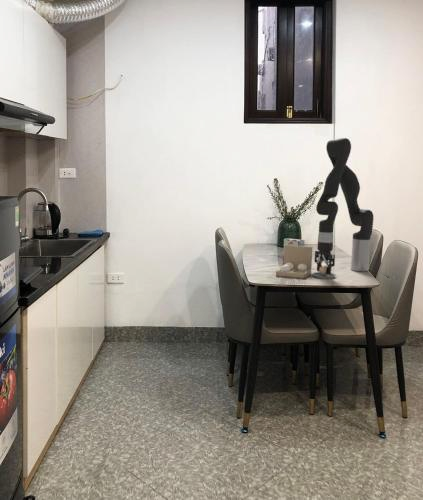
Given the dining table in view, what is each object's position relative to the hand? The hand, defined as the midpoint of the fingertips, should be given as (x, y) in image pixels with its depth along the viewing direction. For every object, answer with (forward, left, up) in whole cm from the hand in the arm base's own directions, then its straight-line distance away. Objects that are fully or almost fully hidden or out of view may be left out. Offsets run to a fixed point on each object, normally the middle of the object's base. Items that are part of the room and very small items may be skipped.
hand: (323, 272), depth 243 cm
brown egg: (0, 0, +1) cm, 1 cm away
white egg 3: (-2, -11, +1) cm, 12 cm away
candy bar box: (-15, -19, -2) cm, 24 cm away
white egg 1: (+5, -18, +1) cm, 19 cm away
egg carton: (+2, -15, -2) cm, 15 cm away
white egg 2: (-2, -18, +1) cm, 18 cm away
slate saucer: (0, 0, -2) cm, 2 cm away
